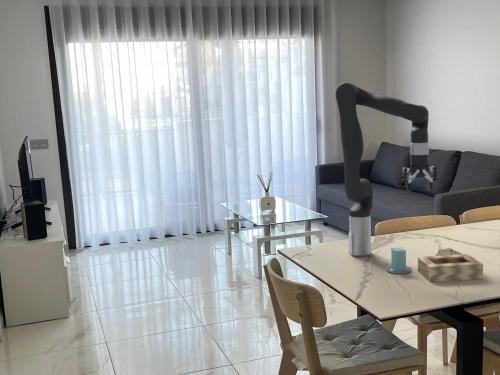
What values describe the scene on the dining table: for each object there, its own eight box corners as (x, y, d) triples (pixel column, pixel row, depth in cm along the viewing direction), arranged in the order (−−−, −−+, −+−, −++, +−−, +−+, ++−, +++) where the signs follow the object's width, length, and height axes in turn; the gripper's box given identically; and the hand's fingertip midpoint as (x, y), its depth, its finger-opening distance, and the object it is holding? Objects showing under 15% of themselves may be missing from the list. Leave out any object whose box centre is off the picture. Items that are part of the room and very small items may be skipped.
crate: (429, 281, 218) (429, 266, 217) (417, 271, 232) (417, 256, 231) (482, 278, 219) (483, 263, 218) (467, 268, 232) (467, 254, 232)
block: (394, 270, 231) (394, 250, 230) (391, 267, 236) (391, 248, 234) (405, 270, 231) (405, 250, 230) (402, 266, 236) (402, 247, 234)
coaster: (389, 275, 228) (389, 273, 228) (383, 267, 238) (383, 265, 238) (415, 273, 229) (415, 271, 229) (407, 266, 239) (407, 264, 238)
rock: (458, 265, 237) (458, 255, 237) (431, 261, 244) (432, 251, 244) (467, 259, 246) (467, 249, 245) (441, 255, 252) (441, 246, 252)
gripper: (405, 154, 243) (405, 193, 246) (439, 153, 243) (439, 191, 246) (400, 153, 250) (400, 190, 253) (433, 151, 251) (433, 189, 253)
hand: (419, 191), depth 249 cm, fingers open, 8 cm apart
